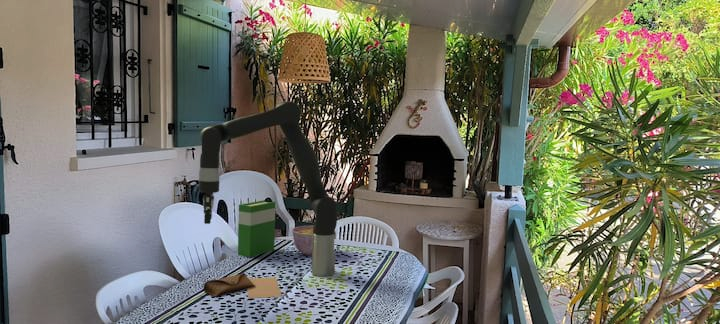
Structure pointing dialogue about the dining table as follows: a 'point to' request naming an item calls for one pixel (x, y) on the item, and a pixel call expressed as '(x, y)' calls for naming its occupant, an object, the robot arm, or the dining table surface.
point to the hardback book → (256, 228)
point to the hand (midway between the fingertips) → (208, 221)
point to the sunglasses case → (227, 285)
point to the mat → (264, 288)
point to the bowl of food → (303, 239)
